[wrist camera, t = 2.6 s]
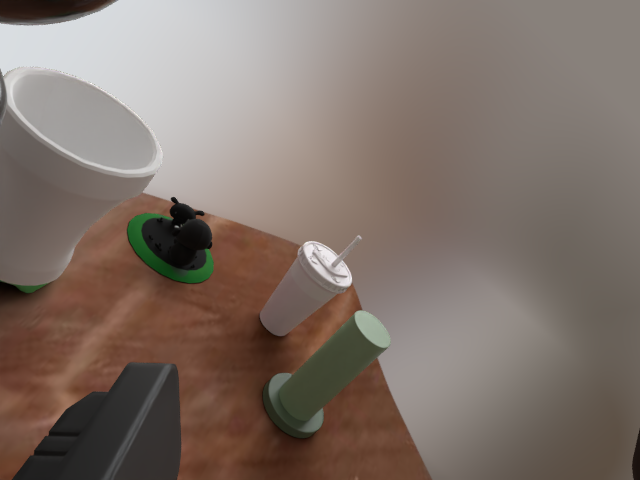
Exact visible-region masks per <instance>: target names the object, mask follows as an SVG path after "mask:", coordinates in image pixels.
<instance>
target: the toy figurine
mask: <svg viewBox="0 0 640 480" xmlns="http://www.w3.org/2000/svg"><path fill="white" fill-rule="evenodd" d="M171 201H172V202H174V203H175V205H173V206H172V207H171V209H170V215H171V216H172V217H173V218H174V219H172V218H170V217H166V216H163V215H159V214H150V213H145V214H141V215H137V216H135V217H134V218H133V219H132V220H131V221H130V222H129V226H128V230H127V232H128V237H129V241H130V243H131V245H132V246H133V248H134V250H135V252H136V253H137V254H138V255H139V256H140V257H141V258H142V259H143V261H144V262H145V263H146V264H147V265H149V266H150V267H152V268H153V269H154V270H156V271H157V272H159V273H160V274H162V275H164V276H167V277H169V278H171V279H173V280H176V281H181V282H186V283H198V282H202V281H204V280H206V279H208V278H209V277H210V275H211V274H212V272H213V263H214V262H213V259H212V256H211V253H210V251H209V249H210V248H211V247H212V242H211V240H212V233H211V230H210V228H209V226H208V225H207V224H206V223H205V222H204V221H202V220H200V219H196V215H201V216H204V212H203V211H196V212H195V211H194V210H193V209H192V208H191V207H189V206H188V205H186V204H181V203H179V202H178V201H177V199H176V198H175V197H172V198H171Z"/></svg>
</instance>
